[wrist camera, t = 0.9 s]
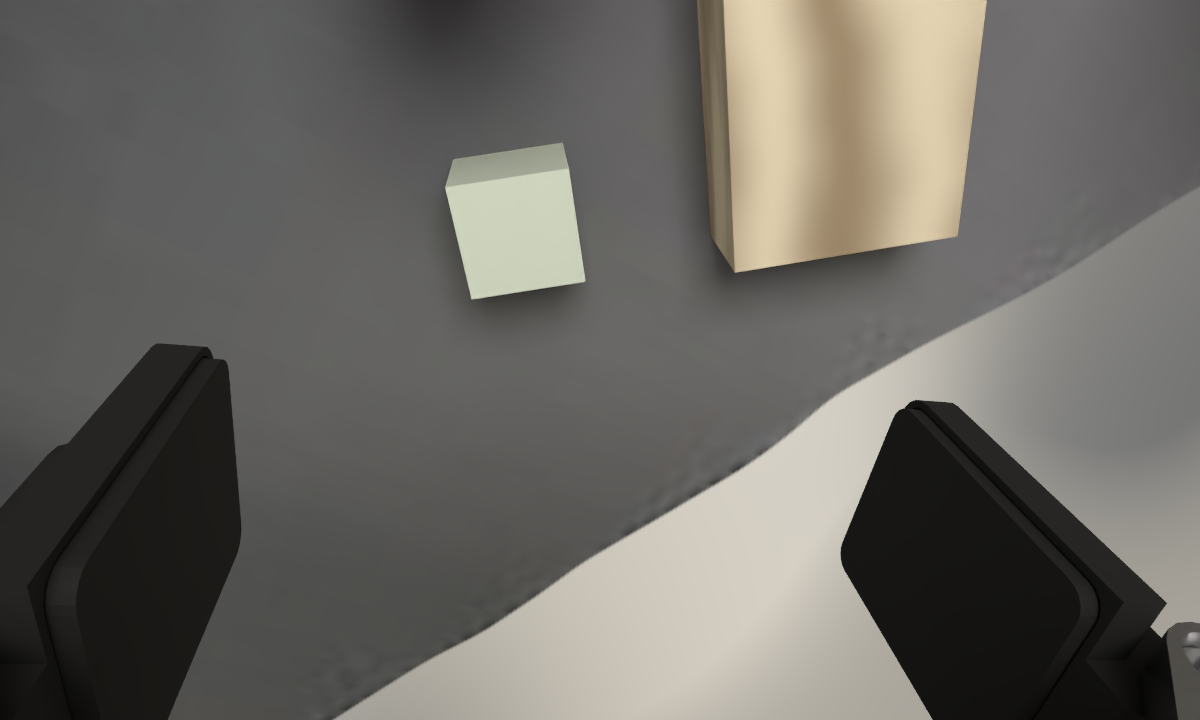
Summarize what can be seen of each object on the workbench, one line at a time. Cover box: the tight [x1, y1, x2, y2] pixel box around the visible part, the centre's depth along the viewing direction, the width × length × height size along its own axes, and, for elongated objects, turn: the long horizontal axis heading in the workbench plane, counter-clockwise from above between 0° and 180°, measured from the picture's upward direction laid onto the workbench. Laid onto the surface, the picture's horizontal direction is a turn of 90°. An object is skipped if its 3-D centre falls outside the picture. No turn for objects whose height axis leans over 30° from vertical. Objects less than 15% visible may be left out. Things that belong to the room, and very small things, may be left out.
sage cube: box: [445, 143, 585, 299], centre depth 32 cm, size 5×5×4 cm
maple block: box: [697, 0, 987, 273], centre depth 31 cm, size 10×14×5 cm
